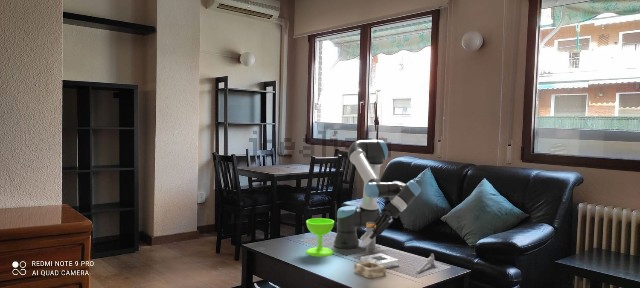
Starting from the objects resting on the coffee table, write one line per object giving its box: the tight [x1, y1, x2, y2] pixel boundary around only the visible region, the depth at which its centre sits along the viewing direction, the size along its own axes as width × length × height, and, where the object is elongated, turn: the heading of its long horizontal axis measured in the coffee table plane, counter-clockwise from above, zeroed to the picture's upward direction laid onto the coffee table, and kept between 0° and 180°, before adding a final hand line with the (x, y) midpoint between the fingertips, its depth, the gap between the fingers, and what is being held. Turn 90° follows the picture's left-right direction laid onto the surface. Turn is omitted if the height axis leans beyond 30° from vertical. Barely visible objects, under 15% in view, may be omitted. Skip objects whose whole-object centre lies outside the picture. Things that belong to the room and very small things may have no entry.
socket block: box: [360, 252, 400, 269], centre depth 238 cm, size 14×14×3 cm
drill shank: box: [365, 222, 377, 253], centre depth 221 cm, size 5×5×14 cm
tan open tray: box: [353, 261, 387, 279], centre depth 222 cm, size 12×10×4 cm
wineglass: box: [305, 217, 335, 258], centre depth 257 cm, size 16×16×18 cm
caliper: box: [415, 253, 435, 275], centre depth 231 cm, size 20×1×6 cm, turn 143°
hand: (363, 241), depth 220 cm, fingers closed on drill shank, 4 cm apart
